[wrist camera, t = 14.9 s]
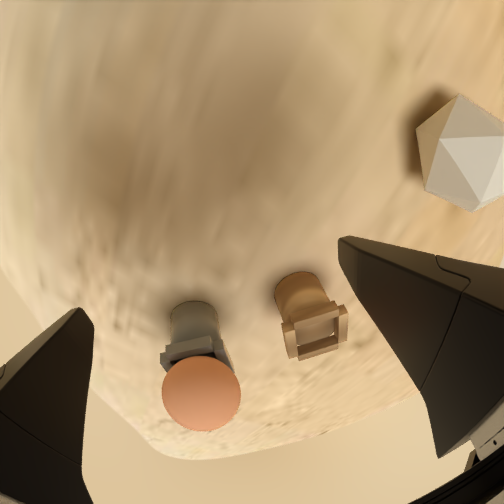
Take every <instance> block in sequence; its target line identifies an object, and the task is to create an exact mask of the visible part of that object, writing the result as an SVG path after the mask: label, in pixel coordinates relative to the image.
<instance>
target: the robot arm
mask: <svg viewBox="0 0 504 504" xmlns="http://www.w3.org/2000/svg"><path fill="white" fill-rule="evenodd" d="M338 260H339V264H340V266H341V268H342V270H343V272H344V274H345V276H346V278H347V280H348V281H349V283H350V285H351V287H352V289H353V291H354V293H355V295H356V296H357V298H358V299H359V301H360V302H361V304H362V305H363V307H364V308H365V310H366V311H367V312H368V314H369V315H370V317H371V318H372V320H373V321H374V323H375V324H376V326H377V327H378V329H379V330H380V331H381V333H382V334H383V336H384V337H385V339H386V340H387V342H388V343H389V345H390V346H391V348H392V349H393V351H394V352H395V354H396V356H397V357H398V359H399V360H400V362H401V363H402V365H403V366H404V368H405V369H406V371H407V372H408V374H409V376H410V377H411V379H412V380H413V382H414V384H415V385H416V387H417V388H418V390H419V391H420V393H421V395H422V397H423V399H424V401H425V403H426V407H427V410H428V415H429V419H430V423H431V428H432V433H433V438H434V443H435V448H436V454H437V457H438V458H441V457H443V456H445V455H446V454H448V453H450V452H451V451H453V450H455V449H456V448H458V447H459V446H461V445H463V444H464V443H466V442H467V441H469V440H471V441H472V443H473V445H474V447H475V449H474V450H473V451H472V452H471V453H470V455H469V458H468V461H467V464H466V467H465V470H464V472H463V473H462V474H460V475H459V476H457V477H455V478H454V479H452V480H451V481H449V482H447V483H445V484H444V485H442V486H440V487H439V488H437V489H435V490H433V491H431V492H430V493H428V494H426V495H424V496H422V497H421V498H418V499H416V500H414V501H412V502H410V503H408V504H504V269H503V268H498V267H493V266H488V265H482V264H477V263H472V262H467V261H462V260H457V259H453V258H448V257H444V256H440V255H436V256H435V255H434V254H430V253H426V252H421V251H417V250H413V249H408V248H404V247H400V246H395V245H391V244H386V243H382V242H377V241H373V240H368V239H364V238H359V237H354V236H345V237H342V238H339V240H338ZM93 342H94V325H93V323H92V321H91V320H90V319H89V317H88V316H87V314H86V313H85V311H84V310H83V309H82V308H80V307H78V308H74V309H71V310H70V311H68V312H67V313H66V314H65V315H63V316H62V317H61V318H60V319H58V320H57V321H56V322H55V323H53V324H52V325H51V326H50V327H48V328H47V329H46V330H45V331H44V332H42V333H41V334H40V335H39V336H38V337H36V338H35V339H34V340H33V341H32V342H30V343H29V344H28V345H27V346H26V347H24V348H23V349H22V350H21V351H20V352H18V353H17V354H16V355H15V356H14V357H13V358H12V359H10V360H9V361H8V362H7V363H6V364H4V365H3V366H2V367H1V368H0V504H93V501H92V499H91V497H90V495H89V493H88V490H87V488H86V485H85V483H84V480H83V476H82V467H81V466H82V450H83V436H84V424H85V414H86V413H85V412H86V405H87V396H88V389H89V381H90V374H91V368H92V358H93Z"/></svg>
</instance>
